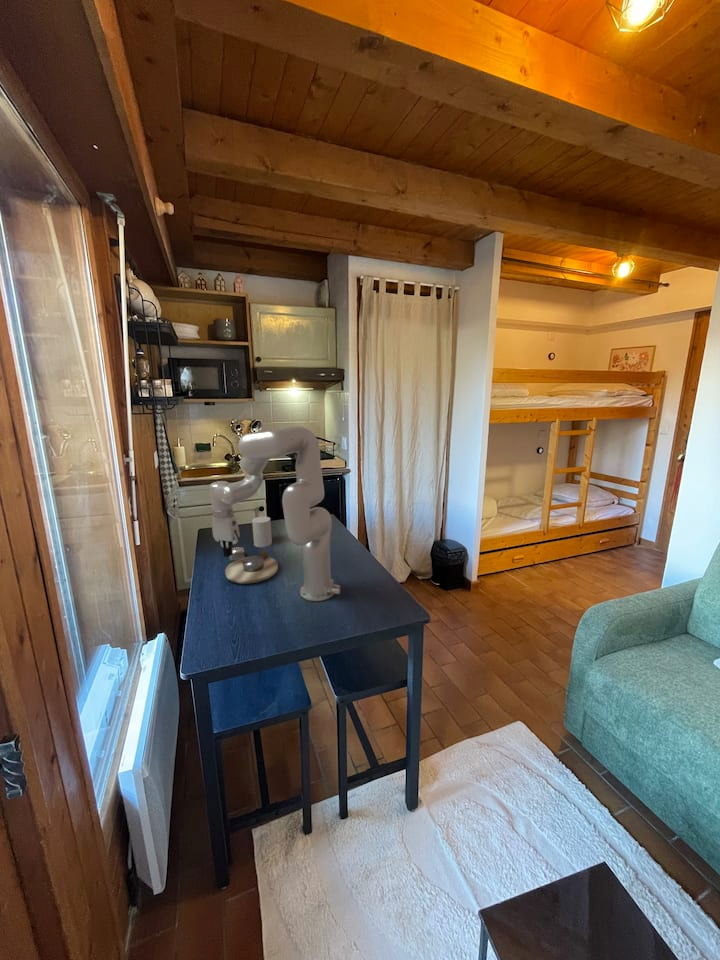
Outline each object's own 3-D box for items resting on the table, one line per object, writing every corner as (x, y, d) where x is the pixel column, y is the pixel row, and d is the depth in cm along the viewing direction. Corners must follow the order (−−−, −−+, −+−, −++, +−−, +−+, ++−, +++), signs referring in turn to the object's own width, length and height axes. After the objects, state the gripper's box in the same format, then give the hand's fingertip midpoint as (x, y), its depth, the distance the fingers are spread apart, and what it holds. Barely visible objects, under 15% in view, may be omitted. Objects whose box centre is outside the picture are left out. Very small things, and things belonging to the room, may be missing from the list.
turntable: (287, 563, 156) (286, 553, 154) (257, 587, 138) (256, 576, 137) (247, 555, 163) (246, 546, 162) (214, 577, 145) (213, 567, 144)
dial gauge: (243, 553, 167) (242, 545, 166) (244, 558, 163) (244, 550, 162) (229, 555, 165) (228, 547, 164) (230, 560, 161) (229, 552, 160)
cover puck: (268, 564, 152) (267, 557, 151) (255, 573, 145) (255, 566, 144) (251, 561, 155) (251, 554, 154) (238, 570, 148) (238, 563, 147)
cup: (250, 545, 176) (248, 520, 173) (262, 538, 183) (260, 515, 180) (263, 548, 172) (261, 523, 169) (275, 542, 179) (273, 518, 176)
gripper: (244, 511, 149) (249, 554, 154) (214, 508, 155) (220, 549, 159) (231, 517, 143) (236, 562, 147) (201, 513, 148) (207, 556, 153)
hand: (228, 555), depth 153 cm, fingers closed
